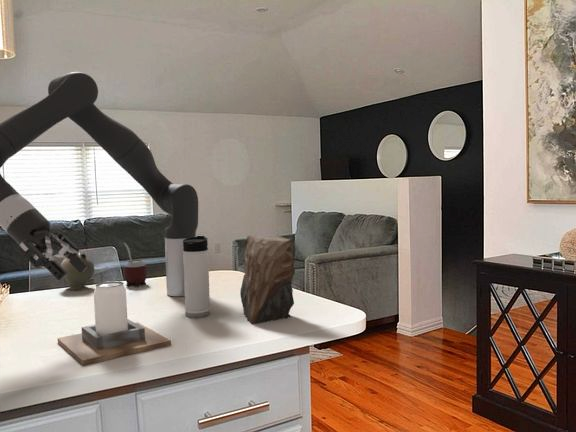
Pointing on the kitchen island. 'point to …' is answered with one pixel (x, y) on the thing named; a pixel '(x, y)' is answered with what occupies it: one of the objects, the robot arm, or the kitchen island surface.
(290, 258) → the brown rock
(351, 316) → the kitchen island surface
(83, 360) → the mount
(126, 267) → the mate gourd
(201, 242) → the travel mug
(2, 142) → the robot arm
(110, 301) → the can
